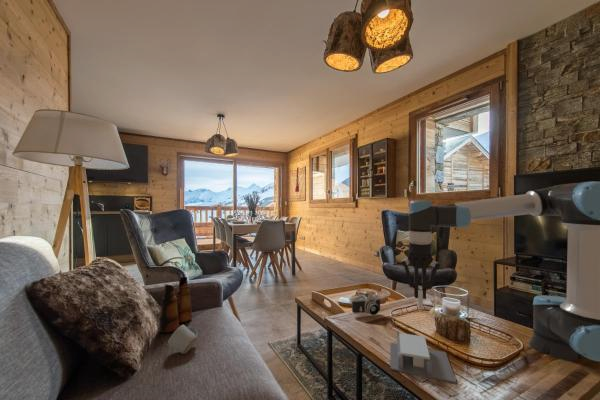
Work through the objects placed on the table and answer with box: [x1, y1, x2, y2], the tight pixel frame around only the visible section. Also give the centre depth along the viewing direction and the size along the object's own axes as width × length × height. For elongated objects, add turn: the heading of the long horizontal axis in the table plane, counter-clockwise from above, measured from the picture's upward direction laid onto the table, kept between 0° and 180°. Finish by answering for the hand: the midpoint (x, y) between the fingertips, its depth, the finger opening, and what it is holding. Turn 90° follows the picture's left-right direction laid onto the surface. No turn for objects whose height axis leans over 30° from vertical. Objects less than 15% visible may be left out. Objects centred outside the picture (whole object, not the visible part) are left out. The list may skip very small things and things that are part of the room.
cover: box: [399, 332, 430, 360], centre depth 94 cm, size 9×14×1 cm, turn 161°
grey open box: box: [389, 330, 457, 384], centre depth 94 cm, size 20×17×6 cm
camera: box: [351, 292, 381, 316], centre depth 134 cm, size 16×9×10 cm, turn 103°
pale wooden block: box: [412, 357, 424, 368], centre depth 94 cm, size 3×9×3 cm, turn 161°
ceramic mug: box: [167, 324, 199, 355], centre depth 100 cm, size 11×8×8 cm
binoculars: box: [158, 276, 193, 334], centre depth 122 cm, size 18×8×20 cm, turn 169°
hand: (420, 306), depth 94 cm, fingers closed
